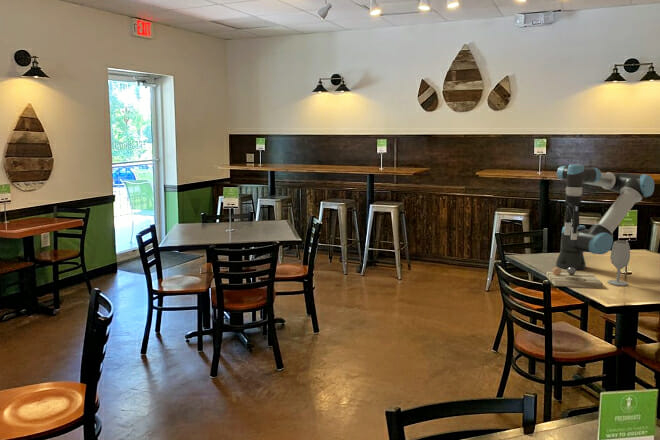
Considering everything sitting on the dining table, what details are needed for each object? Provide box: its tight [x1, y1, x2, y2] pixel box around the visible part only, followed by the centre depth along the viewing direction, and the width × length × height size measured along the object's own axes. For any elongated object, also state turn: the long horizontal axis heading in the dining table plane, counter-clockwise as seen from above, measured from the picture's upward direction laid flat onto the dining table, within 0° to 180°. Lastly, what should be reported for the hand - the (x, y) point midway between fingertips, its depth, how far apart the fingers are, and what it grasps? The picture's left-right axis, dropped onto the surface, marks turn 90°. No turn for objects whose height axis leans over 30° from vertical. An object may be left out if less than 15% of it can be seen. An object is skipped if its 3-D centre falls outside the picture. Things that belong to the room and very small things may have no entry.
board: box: [545, 271, 604, 289], centre depth 287 cm, size 18×22×2 cm
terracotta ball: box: [552, 266, 562, 275], centre depth 290 cm, size 4×4×4 cm
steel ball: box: [566, 267, 577, 275], centre depth 291 cm, size 4×4×4 cm
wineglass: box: [607, 240, 631, 287], centre depth 283 cm, size 9×9×21 cm
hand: (570, 237), depth 296 cm, fingers open, 12 cm apart
